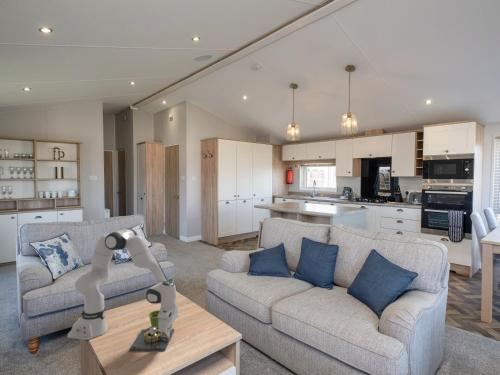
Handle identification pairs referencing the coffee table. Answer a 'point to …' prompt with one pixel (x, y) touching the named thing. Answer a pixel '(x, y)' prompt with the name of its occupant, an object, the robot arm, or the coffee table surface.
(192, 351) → the coffee table surface
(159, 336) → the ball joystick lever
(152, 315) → the plant pot
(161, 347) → the flange plate
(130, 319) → the coffee table surface
